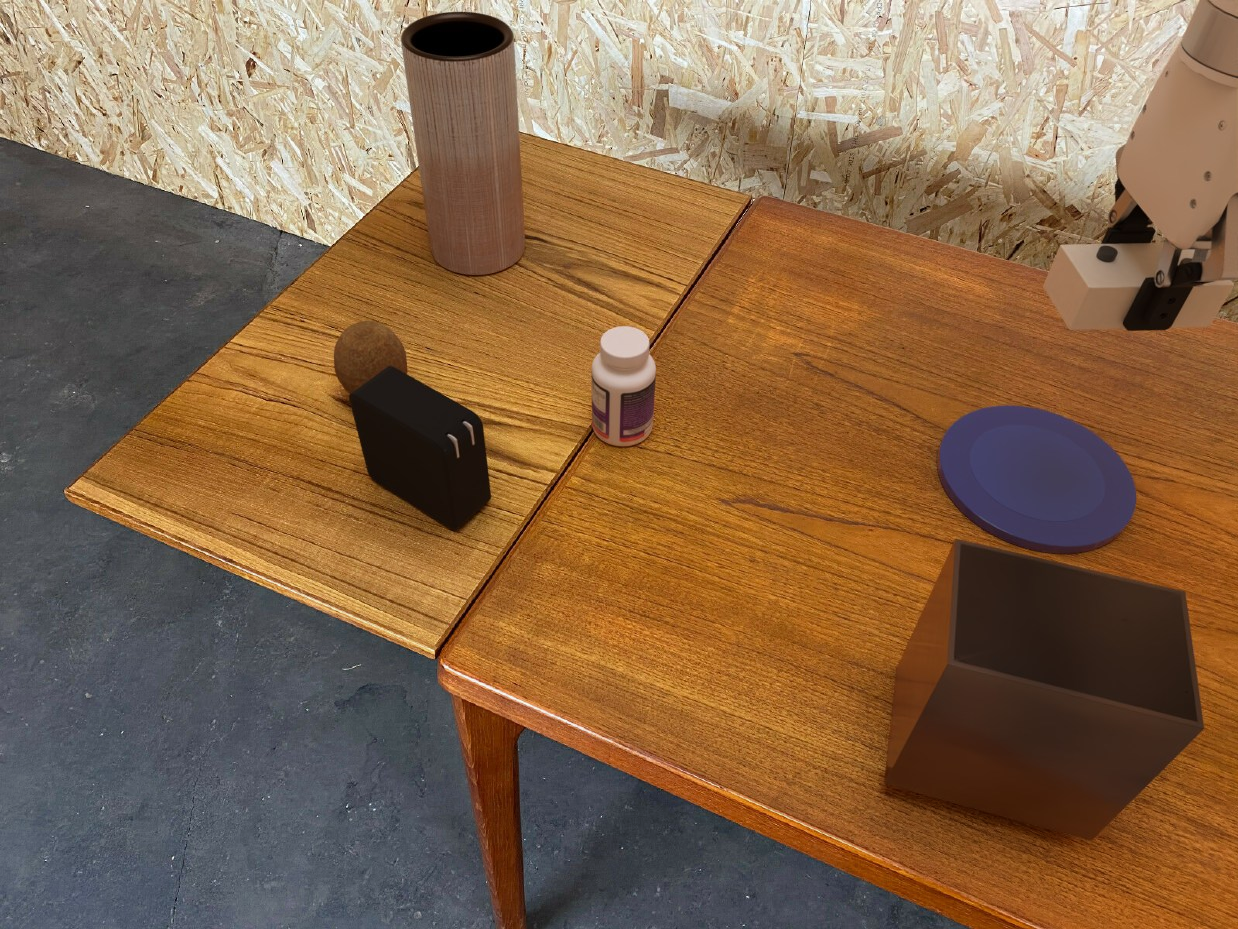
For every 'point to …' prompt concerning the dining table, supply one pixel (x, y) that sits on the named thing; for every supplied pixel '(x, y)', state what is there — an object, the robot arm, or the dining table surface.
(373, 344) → the fruit
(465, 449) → the electronic device
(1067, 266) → the controller
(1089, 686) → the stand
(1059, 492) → the plate
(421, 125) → the planter
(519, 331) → the dining table surface
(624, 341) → the pill bottle
